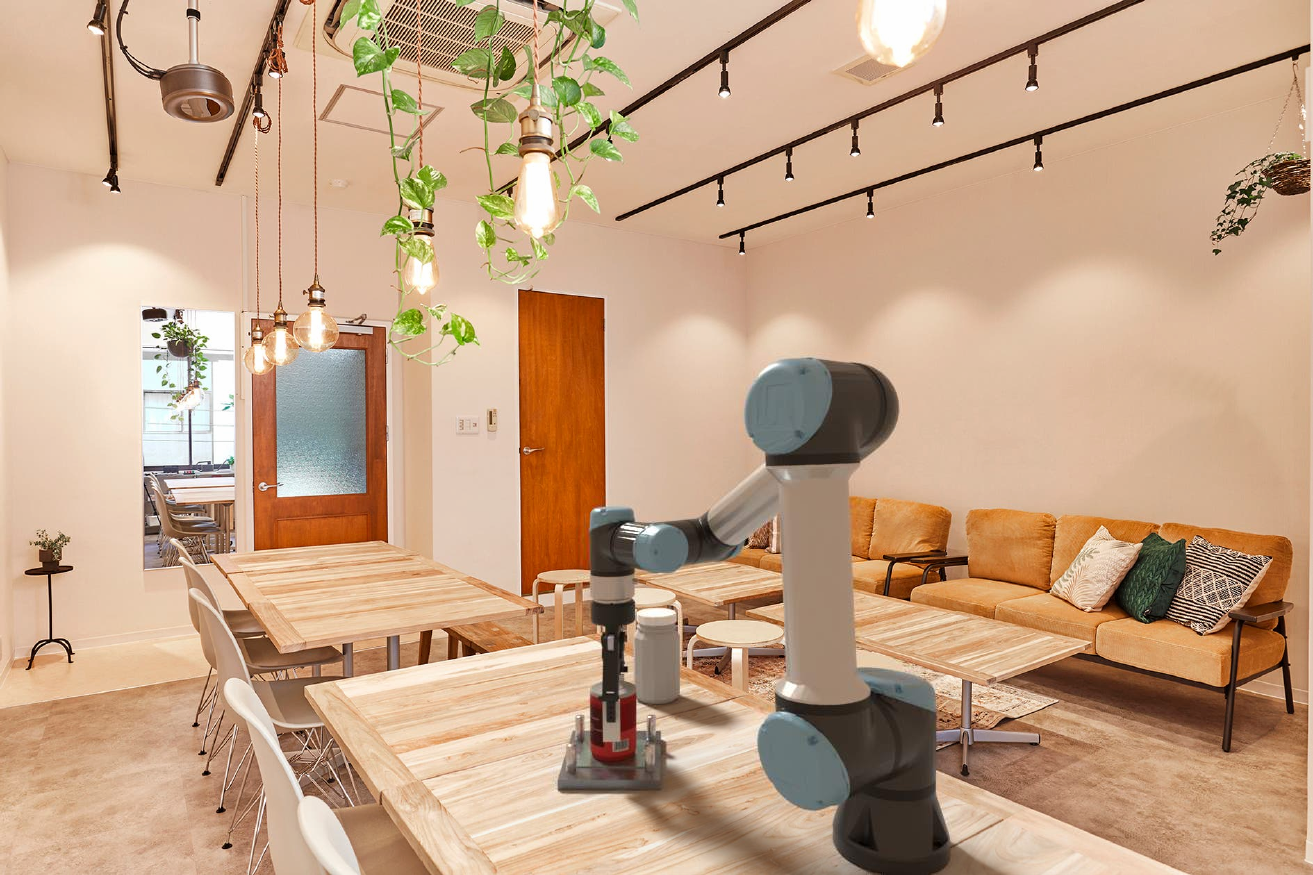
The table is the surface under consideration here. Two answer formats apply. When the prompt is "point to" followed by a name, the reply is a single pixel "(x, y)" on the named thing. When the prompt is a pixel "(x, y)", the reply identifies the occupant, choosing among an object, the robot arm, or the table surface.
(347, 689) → the table surface
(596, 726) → the canned food
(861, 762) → the robot arm
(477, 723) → the table surface
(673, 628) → the jar
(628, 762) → the plate
